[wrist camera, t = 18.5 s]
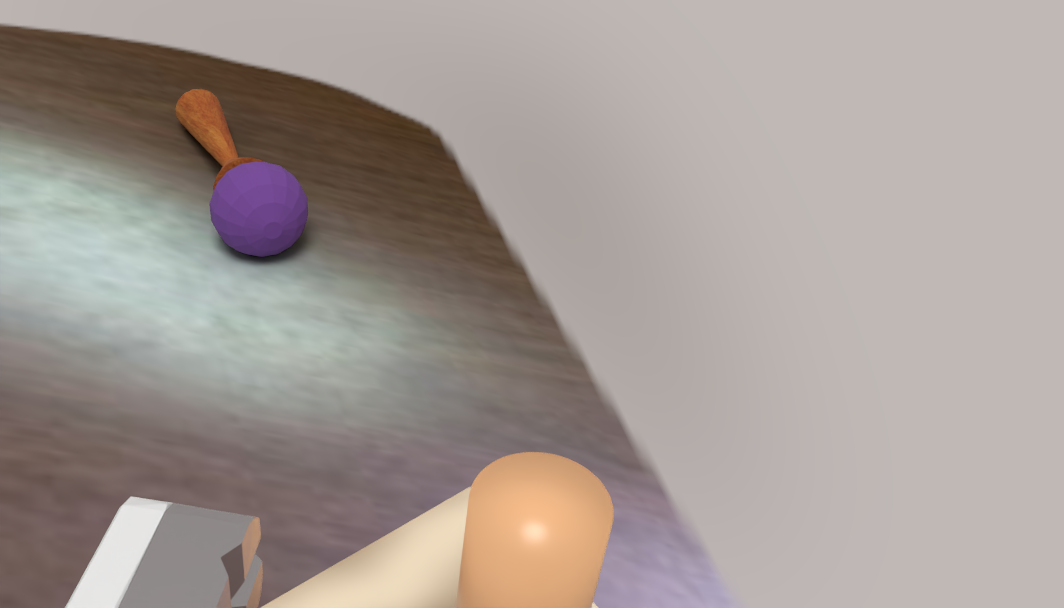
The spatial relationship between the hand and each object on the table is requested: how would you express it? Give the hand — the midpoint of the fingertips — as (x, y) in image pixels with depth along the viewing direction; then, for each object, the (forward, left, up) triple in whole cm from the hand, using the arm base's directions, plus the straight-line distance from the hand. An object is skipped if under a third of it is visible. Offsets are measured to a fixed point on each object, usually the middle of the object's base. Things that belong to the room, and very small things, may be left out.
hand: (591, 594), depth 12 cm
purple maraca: (-52, +23, -28) cm, 63 cm away
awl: (-8, +9, -26) cm, 29 cm away
